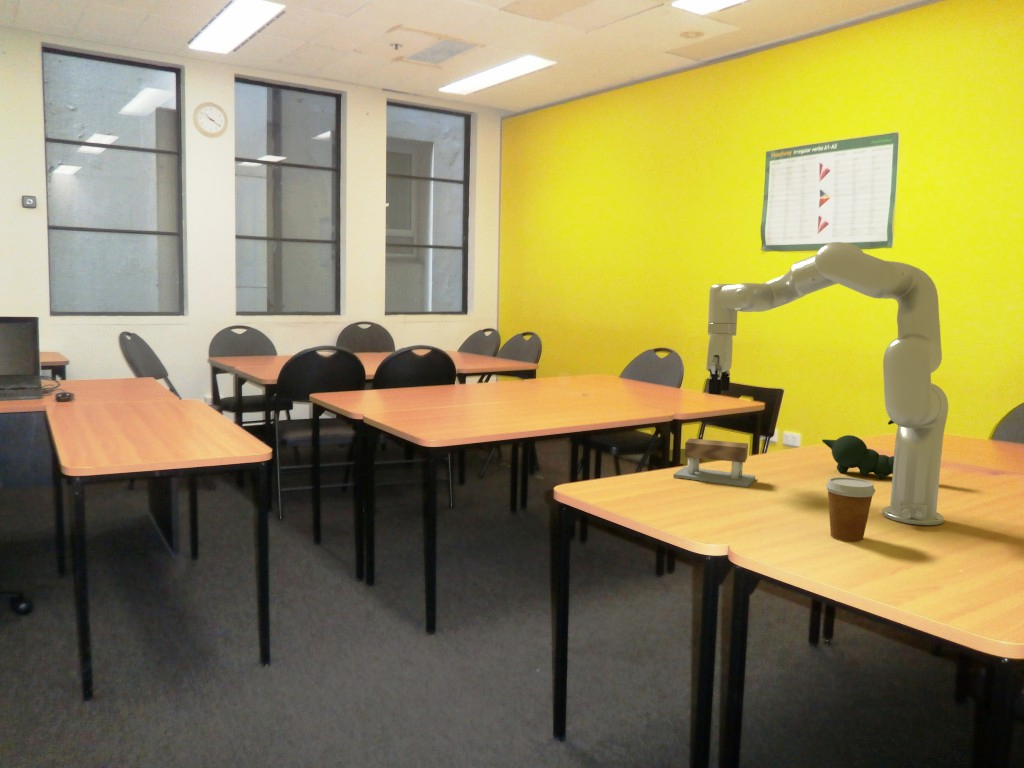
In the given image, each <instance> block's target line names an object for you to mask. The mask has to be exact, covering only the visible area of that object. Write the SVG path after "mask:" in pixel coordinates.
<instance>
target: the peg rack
mask: <svg viewBox="0 0 1024 768" xmlns="http://www.w3.org/2000/svg"><path fill="white" fill-rule="evenodd" d="M743 463H744V462H734V461H731V469H730V470H731V471H724V470H714V469H706V468H700V458H692V457H687V466H683V467H681V469H679V470H677V471H676V472H674V473H673V477H678V478H677V479H680V478H684V479H683V480H687V479H691V480H690V481H695V480H699V481H698V482H702V481H704V483H709V484H710V483H711V484H719V485H726V486H732V485H733V486H734V487H740V486H741V487H742V488H749V486H750V485H751V484H752V483H753V482H754V481H755V480H756V475H754V474H753V475H752V474H746V473H745V474H744V473H743ZM741 487H740V488H741Z"/></svg>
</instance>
